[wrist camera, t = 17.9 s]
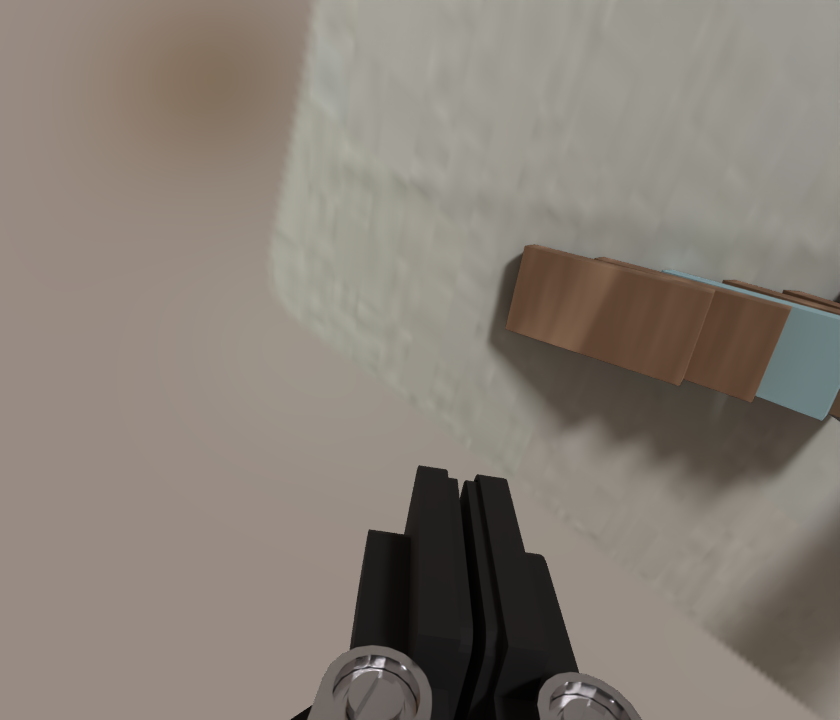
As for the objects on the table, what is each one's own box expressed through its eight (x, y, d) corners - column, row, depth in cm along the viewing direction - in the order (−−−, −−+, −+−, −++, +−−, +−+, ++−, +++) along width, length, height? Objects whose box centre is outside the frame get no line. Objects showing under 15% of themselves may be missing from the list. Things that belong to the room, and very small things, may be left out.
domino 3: (672, 269, 34) (870, 323, 28) (646, 347, 36) (827, 414, 30) (662, 270, 33) (865, 327, 27) (635, 350, 35) (822, 420, 29)
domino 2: (603, 256, 34) (792, 306, 29) (580, 335, 36) (755, 395, 31) (594, 258, 33) (790, 310, 28) (571, 340, 35) (751, 403, 30)
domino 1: (534, 244, 34) (715, 289, 30) (515, 324, 36) (683, 378, 31) (525, 245, 33) (712, 293, 28) (505, 328, 34) (679, 386, 30)
